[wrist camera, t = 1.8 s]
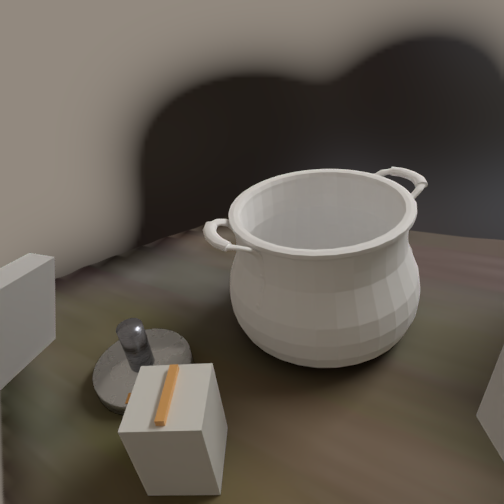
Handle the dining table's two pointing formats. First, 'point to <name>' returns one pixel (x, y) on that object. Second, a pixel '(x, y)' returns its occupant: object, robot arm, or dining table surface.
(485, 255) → the dining table surface
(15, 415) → the dining table surface
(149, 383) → the box with orange strip
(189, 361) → the hub plate
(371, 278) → the pot
